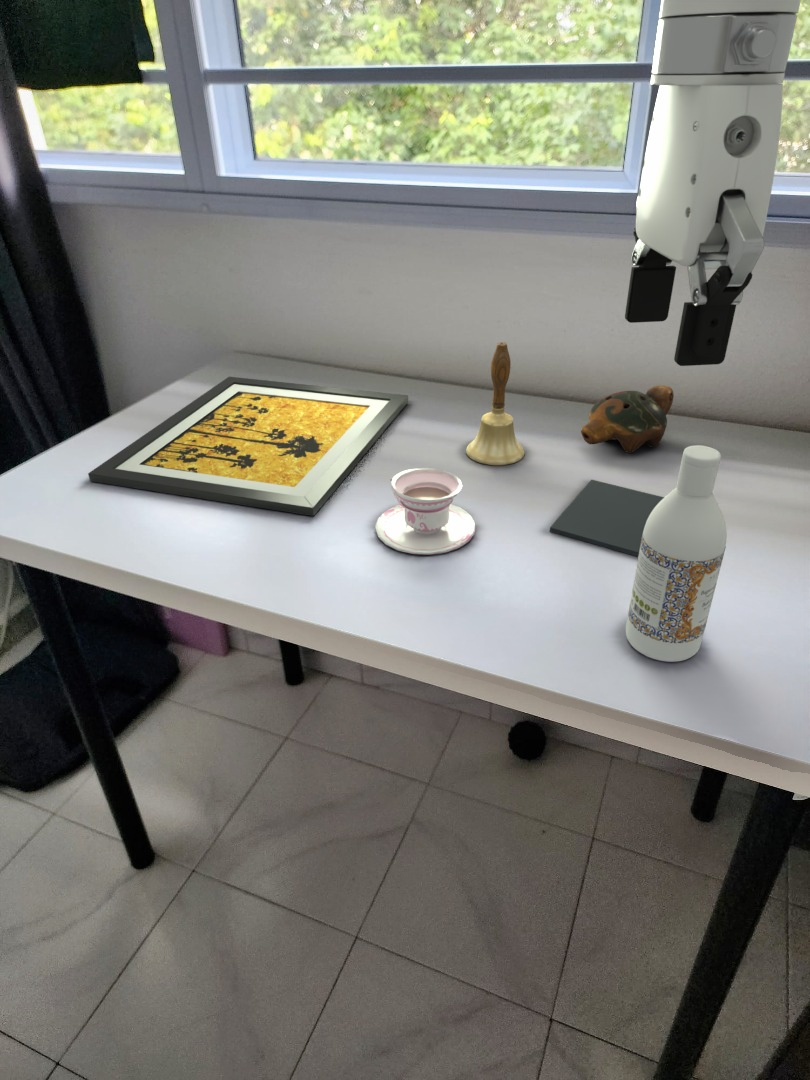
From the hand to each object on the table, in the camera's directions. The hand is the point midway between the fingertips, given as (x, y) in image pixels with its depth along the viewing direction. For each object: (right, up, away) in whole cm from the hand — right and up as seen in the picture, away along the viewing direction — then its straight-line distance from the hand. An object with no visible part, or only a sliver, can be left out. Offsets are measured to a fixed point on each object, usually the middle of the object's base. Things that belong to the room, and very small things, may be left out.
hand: (669, 340), depth 53 cm
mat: (+8, -12, +37) cm, 40 cm away
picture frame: (-40, +1, +59) cm, 71 cm away
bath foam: (+6, -24, +19) cm, 31 cm away
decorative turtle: (+13, 0, +56) cm, 57 cm away
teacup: (-17, -13, +37) cm, 42 cm away
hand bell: (-6, -2, +54) cm, 54 cm away
